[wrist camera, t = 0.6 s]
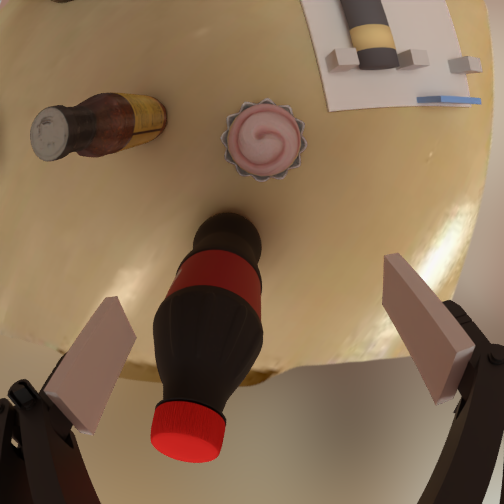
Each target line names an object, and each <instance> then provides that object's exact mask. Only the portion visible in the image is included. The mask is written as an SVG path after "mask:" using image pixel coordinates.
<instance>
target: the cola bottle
mask: <svg viewBox="0 0 504 504" xmlns="http://www.w3.org/2000/svg"><path fill="white" fill-rule="evenodd" d="M260 256H261V240H260V236H259V234H258V232H257V230H256V228H255V227H254V225H253V224H252V223H251V222H250V221H249V220H247V219H246V218H244V217H243V216H240V215H238V214H234V213H222V214H218V215H215V216H213V217H211V218H209V219H208V220H206V221H205V222H204V223H203V224H202V225H201V226H200V228H199V229H198V231H197V233H196V235H195V238H194V242H193V250H192V251H191V252H190V253H189V254H188V255H187V256H186V257H185V258H184V259H183V261H182V262H181V264H180V266H179V268H178V270H177V273H176V277H175V279H174V281H173V283H172V285H171V287H170V289H169V291H168V293H167V295H166V297H165V300H164V301H163V302H162V303H161V305H160V306H159V308H158V310H157V312H156V315H155V318H154V322H153V337H154V347H155V358H156V364H157V368H158V372H159V376H160V379H161V381H162V383H163V400H161V401H160V402H159V403H158V404H157V405H156V408H155V413H154V418H153V422H152V427H151V443H152V445H153V446H154V447H155V448H156V449H157V450H158V451H160V452H161V453H163V454H164V455H166V456H168V457H171V458H173V459H176V460H180V461H184V462H193V463H202V462H208V461H212V460H214V459H215V458H217V457H218V455H219V453H220V450H221V447H222V443H223V438H224V432H225V426H226V418H225V416H224V415H223V413H222V411H223V409H224V407H225V404H226V402H227V400H228V399H229V397H230V396H231V395H232V393H233V392H234V391H235V390H236V389H237V387H238V386H239V385H240V384H241V382H242V381H243V380H244V378H245V377H246V375H247V374H248V372H249V371H250V369H251V367H252V366H253V364H254V362H255V360H256V359H257V357H258V355H259V353H260V351H261V348H262V344H263V328H262V324H261V293H262V279H261V275H260V271H259V268H258V265H257V264H258V262H259V259H260Z"/></svg>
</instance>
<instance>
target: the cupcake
mask: <svg viewBox="0 0 504 504" xmlns="http://www.w3.org/2000/svg"><path fill="white" fill-rule="evenodd" d="M227 127H228V129H227V130H226V131H225V132H224V133H223V134H222V135H221V137H220V139H221V141H222V143H223V144H224V145H225V147H226V151H225V155H224V156H225V160H226V161H227V162H229V163H231V164H234V165H235V166H236V170H237V172H238V173H239V175H241V176H252V177H253V178H254V179H255V180H256V181H260V182H264V181H267V180H268V179H269V178H271V177H272V178H275V179H283V178H284V177H285V176H286V174H287V172H288V170H289V169H293V168H297V167H299V166H301V157H300V154H301V153H302V152H303V151H304V150H305V149H306V147H307V141H306V140H305V138H304V137H303V135H302V134H303V131H304V127H305V123H304V122H303V121H301V120H299V119H297V118H295V117H294V116H293V112H292V108H291V107H290V106H289V105H281V106H277V105H276V104H275V103H274V102H273V101H272V100H271V99H269V98H266V99H264V100H262V101H261V102H259V103H258V104H255V103H251V102H244V103H243V104H242V107H241V109H240V111H239V113H235V114H231V115H229V116H227Z"/></svg>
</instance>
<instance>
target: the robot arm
mask: <svg viewBox="0 0 504 504" xmlns="http://www.w3.org/2000/svg"><path fill="white" fill-rule="evenodd" d="M51 1H54V2H59V3H62V2H68V1H72V0H51ZM382 305H383V307H384V308H385V310H386V312H387V313H388V315H389V317H390V319H391V320H392V322H393V324H394V326H395V327H396V329H397V331H398V333H399V335H400V336H401V338H402V340H403V342H404V344H405V346H406V347H407V349H408V351H409V353H410V355H411V357H412V359H413V361H414V362H415V364H416V366H417V368H418V370H419V372H420V374H421V376H422V378H423V380H424V382H425V384H426V386H427V388H428V390H429V392H430V394H431V397H432V399H433V401H434V403H435V405H439V404H442V403H444V402H446V401H449V400H451V399H453V398H454V396H455V393H456V391H457V389H458V390H459V392H460V394H461V396H462V397H461V399H460V401H459V403H458V405H457V407H456V408H455V410H454V413H456V414H455V417H454V420H453V423H452V426H451V429H450V431H449V434H448V437H447V440H446V442H445V445H444V447H443V450H442V453H441V455H440V457H439V460H438V462H437V464H436V466H435V469H434V471H433V473H432V475H431V478H430V480H429V482H428V484H427V486H426V488H425V490H424V492H423V494H422V496H421V497H420V499H419V501H418V503H417V504H482V502H483V499H484V497H485V494H486V491H487V488H488V486H489V482H490V480H491V476H492V473H493V470H494V467H495V463H496V460H497V456H498V452H499V448H500V444H501V440H502V436H503V431H504V346H502V345H499V344H491V343H490V342H489V341H488V339H487V338H486V337H485V335H484V334H483V333H482V332H481V330H480V329H479V328H478V327H477V325H476V324H475V323H474V322H472V319H471V318H470V317H469V316H468V315H467V314H466V312H465V311H464V310H463V309H462V308H461V306H460V305H458V304H456V303H455V302H453V301H451V300H447V301H444V302H441V300H440V299H439V298H438V297H437V296H436V294H435V293H434V292H433V291H432V290H431V289H430V287H429V286H428V285H427V284H426V283H425V282H424V280H423V279H422V278H421V277H420V276H419V275H418V274H417V273H416V271H415V270H414V269H413V268H412V267H411V266H410V265H409V264H408V263H407V261H406V260H405V259H404V258H403V257H402V256H401V255H400V254H399V253H394V254H389V255H384V276H383V297H382ZM136 338H137V337H136V335H135V333H134V331H133V329H132V327H131V325H130V323H129V321H128V319H127V317H126V315H125V313H124V310H123V308H122V306H121V304H120V302H119V299H118V297H117V296H115V297H107V298H105V299H104V300H103V302H102V303H101V304H100V306H99V307H98V309H97V310H96V311H95V313H94V314H93V316H92V317H91V318H90V320H89V321H88V323H87V324H86V326H85V327H84V328H83V330H82V331H81V333H80V334H79V336H78V337H77V339H76V340H75V342H74V343H73V345H72V346H71V348H70V349H69V351H68V352H67V353H65V354H64V355H63V356H62V357H61V359H60V360H59V361H58V363H57V365H56V367H55V368H54V369H53V371H52V373H51V374H50V376H49V377H48V379H47V380H46V382H45V384H44V385H43V387H42V389H41V390H40V392H39V394H38V393H37V391H36V390H35V389H34V387H33V386H32V385H31V384H30V382H29V381H28V380H26V379H23V380H19V381H17V382H16V383H14V384H13V385H12V386H11V387H10V389H9V391H8V397H9V398H10V399H11V400H12V402H13V403H14V404H15V405H16V406H13V405H12V404H11V403H10V402H9V401H8V400H7V399H6V398H2V399H0V504H101V503H100V501H99V498H98V496H97V494H96V492H95V489H94V487H93V485H92V482H91V480H90V478H89V475H88V472H87V470H86V467H85V464H84V462H83V459H82V456H81V453H80V450H79V447H78V444H77V441H76V438H75V435H74V433H73V432H72V431H71V428H72V426H73V425H74V426H75V428H76V429H77V430H78V431H79V432H80V433H84V434H90V435H94V433H95V430H96V428H97V426H98V423H99V421H100V418H101V416H102V414H103V411H104V409H105V406H106V404H107V402H108V399H109V397H110V395H111V392H112V390H113V388H114V386H115V383H116V381H117V379H118V377H119V374H120V372H121V370H122V368H123V366H124V363H125V361H126V359H127V357H128V355H129V353H130V351H131V348H132V346H133V344H134V342H135V340H136ZM12 438H13V439H14V440H15V441H16V442H17V443H18V447H17V448H16V447H15V446H14V445H13V444H12V443H11V439H12ZM500 504H504V464H503V479H502V489H501V497H500Z"/></svg>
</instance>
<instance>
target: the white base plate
mask: <svg viewBox="0 0 504 504" xmlns="http://www.w3.org/2000/svg"><path fill="white" fill-rule="evenodd" d="M300 3H301V6H302V9H303V12H304V16H305V19H306V23H307V26H308V30H309V33H310V37H311V41H312V44H313V48H314V52H315V56H316V60H317V64H318V69H319V73H320V77H321V82H322V86H323V91H324V96H325V101H326V106H327V111H328V112H332V111H342V110H352V109H364V108H378V107H399V106H456V107H471V104H481V99H480V98H472V97H470V93H469V87H468V82H467V77H466V74H470V73H480V72H483V71H482V67H481V62H480V58H476V57H471V56H465V57H462V54H461V50H460V46H459V42H458V39H457V35H456V32H455V28H454V25H453V22H452V19H451V16H450V13H449V10H448V7H447V4H446V2H445V0H381V3H382V5H383V8H384V11H385V14H386V17H387V21H388V24H389V27H390V29H391V32H392V36H393V40H394V43H395V47H396V52H397V56H398V60H399V65H400V66H399V67H396V68H391V69H383V70H361V69H359V64H360V63H359V59H358V55H357V51H356V48H354V46H353V43H352V39H351V35H350V32H349V31H350V30H349V27H348V24H347V20H346V17H345V14H344V11H343V8H342V4H341V1H340V0H300Z"/></svg>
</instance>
